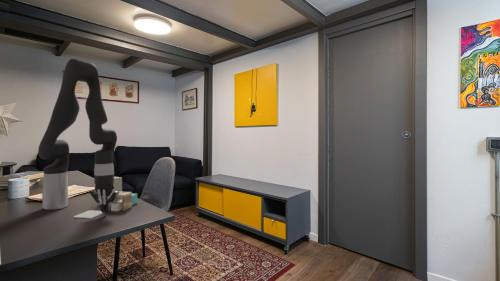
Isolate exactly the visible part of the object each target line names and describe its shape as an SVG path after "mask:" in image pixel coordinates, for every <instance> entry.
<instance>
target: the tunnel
mask: <svg viewBox="0 0 500 281" xmlns="http://www.w3.org/2000/svg"><path fill="white" fill-rule="evenodd" d="M132 193H133V192H132V191H122V192H119V194H118V195H117V196H116V198H115V199H114V201H113V202H110V203H109V210H108V211H111V204H112V203H115V202H117V201H118V197H122V210H121V211H124V212H125V211H126V210H129V209H131V208H133V205H132ZM111 194H112V193H111Z"/></svg>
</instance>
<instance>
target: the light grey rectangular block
mask: <svg viewBox="0 0 500 281" xmlns="http://www.w3.org/2000/svg"><path fill="white" fill-rule="evenodd" d="M110 211H111V212H119V211H122V200H120V201H117V202H115V203H112V204H111V210H110Z"/></svg>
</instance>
